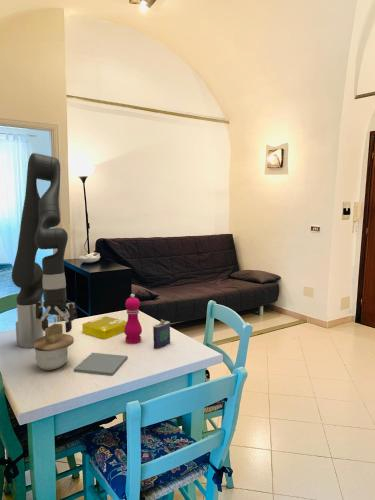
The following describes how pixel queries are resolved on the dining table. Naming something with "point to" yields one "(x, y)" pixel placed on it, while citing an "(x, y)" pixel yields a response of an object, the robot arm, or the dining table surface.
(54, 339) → the lid
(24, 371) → the dining table surface
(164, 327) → the flask
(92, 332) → the element tile
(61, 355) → the teacup
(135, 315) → the pepper mill
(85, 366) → the mat
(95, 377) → the dining table surface
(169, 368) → the dining table surface
